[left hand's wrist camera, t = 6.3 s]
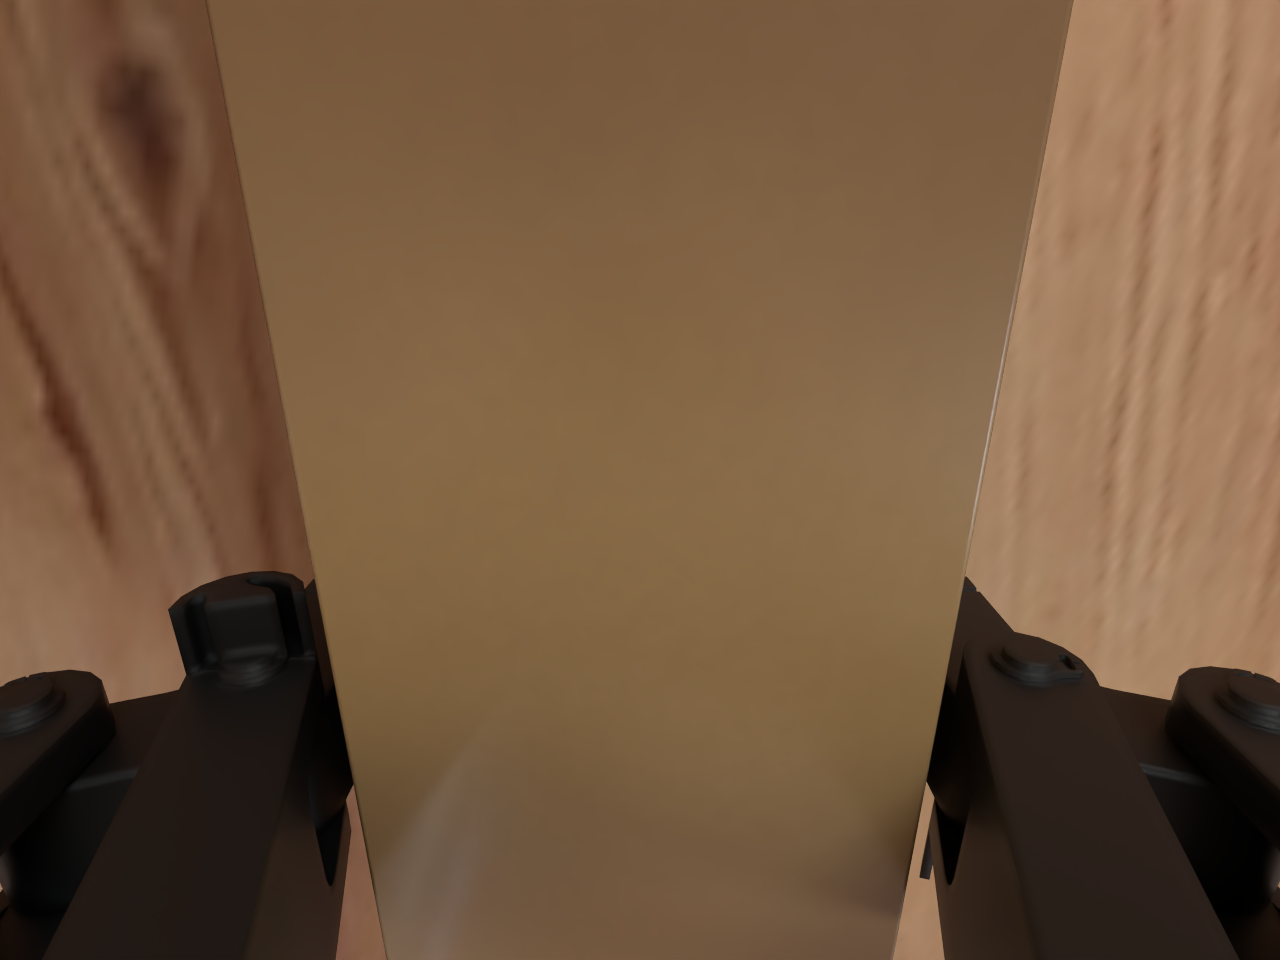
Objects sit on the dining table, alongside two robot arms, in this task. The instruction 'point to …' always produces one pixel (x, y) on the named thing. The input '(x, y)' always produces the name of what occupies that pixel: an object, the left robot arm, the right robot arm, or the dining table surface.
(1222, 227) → the dining table surface
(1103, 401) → the dining table surface
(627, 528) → the post
